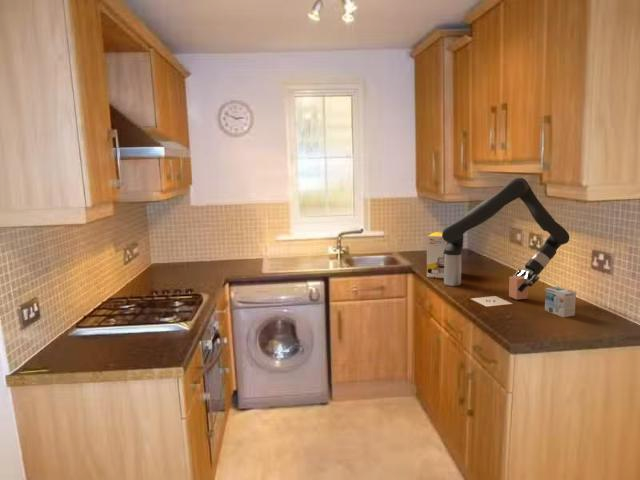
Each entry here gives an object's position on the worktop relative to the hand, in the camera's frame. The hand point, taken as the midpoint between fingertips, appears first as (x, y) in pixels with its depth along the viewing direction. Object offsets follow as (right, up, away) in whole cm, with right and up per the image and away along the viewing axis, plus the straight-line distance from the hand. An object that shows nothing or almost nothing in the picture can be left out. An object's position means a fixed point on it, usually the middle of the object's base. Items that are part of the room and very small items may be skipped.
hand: (515, 288), depth 226 cm
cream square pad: (-12, -6, -1) cm, 14 cm away
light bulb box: (+11, -9, -20) cm, 25 cm away
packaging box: (-20, +2, +57) cm, 61 cm away
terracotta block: (+2, -4, +1) cm, 5 cm away
